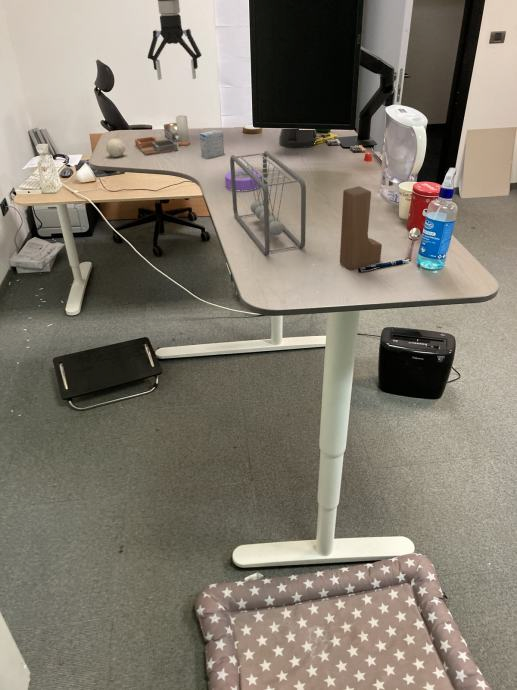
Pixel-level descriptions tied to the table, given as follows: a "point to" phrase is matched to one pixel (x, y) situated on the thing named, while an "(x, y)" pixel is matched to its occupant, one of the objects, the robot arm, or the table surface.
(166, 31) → the robot arm
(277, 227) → the newton's cradle
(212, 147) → the medicine box
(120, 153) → the baseball
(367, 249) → the wooden block
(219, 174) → the table surface
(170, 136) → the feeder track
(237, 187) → the masking tape
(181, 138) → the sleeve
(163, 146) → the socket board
